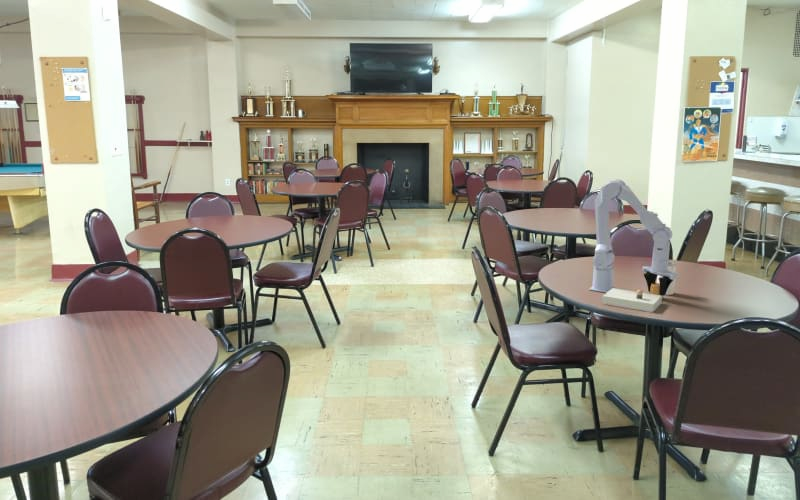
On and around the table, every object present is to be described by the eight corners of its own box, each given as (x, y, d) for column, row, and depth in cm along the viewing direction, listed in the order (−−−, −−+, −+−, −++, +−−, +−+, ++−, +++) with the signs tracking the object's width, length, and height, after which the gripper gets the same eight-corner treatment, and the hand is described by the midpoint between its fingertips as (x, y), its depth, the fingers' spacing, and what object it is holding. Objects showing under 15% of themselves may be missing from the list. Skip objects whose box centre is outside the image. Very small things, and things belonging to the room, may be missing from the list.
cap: (651, 294, 245) (652, 282, 244) (663, 296, 243) (665, 284, 242) (648, 297, 242) (649, 284, 241) (661, 299, 239) (662, 286, 238)
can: (672, 291, 252) (675, 262, 249) (674, 296, 246) (677, 266, 243) (655, 290, 254) (658, 261, 252) (656, 294, 248) (659, 264, 246)
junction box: (612, 295, 246) (613, 280, 244) (661, 303, 236) (662, 287, 235) (601, 303, 234) (603, 288, 233) (652, 312, 224) (654, 296, 223)
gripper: (637, 255, 244) (634, 289, 247) (668, 263, 231) (664, 299, 234) (651, 254, 247) (647, 288, 250) (681, 262, 234) (677, 297, 237)
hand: (656, 293), depth 242 cm, fingers closed on cap, 5 cm apart
